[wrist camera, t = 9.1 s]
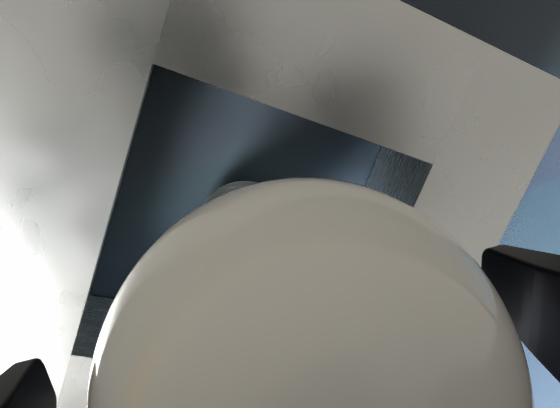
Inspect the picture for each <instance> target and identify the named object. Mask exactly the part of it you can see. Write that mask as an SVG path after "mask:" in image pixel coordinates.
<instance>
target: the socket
mask: <svg viewBox="0 0 560 408" xmlns="http://www.w3.org/2000/svg"><path fill="white" fill-rule="evenodd" d="M154 64H155V65H158V66H161V67H164V68H166V69H169V70H172V71H175V72H178V73H180V74H183V75H186V76H189V77H192V78H194V79H197V80H200V81H203V82H205V83H208V84H211V85H214V86H217V87H219V88H222V89H225V90H228V91H230V92H233V93H236V94H239V95H242V96H244V97H247V98H250V99H253V100H256V101H258V102H261V103H264V104H267V105H269V106H272V107H275V108H278V109H281V110H283V111H286V112H289V113H292V114H295V115H297V116H300V117H303V118H306V119H308V120H311V121H314V122H317V123H320V124H322V125H325V126H328V127H331V128H333V129H336V130H339V131H342V132H345V133H347V134H350V135H353V136H356V137H359V138H361V139H364V140H367V141H370V142H372V143H375V144H378V145H381V146H382V147H381V149H380V152H379V154H378V157H377V159H376V161H375V164H374V166H373V168H372V171H371V173H370V176H369V178H368V180H367V183H366V185H365V186H366V187H369V188H372V189H375V190H378V191H380V192H383V193H385V194H388V195H390V196H392V197H395V198H397V199H399V200H401V201H403V202H405V203H407V204H408V205H410V206H412V207H414V208H415V209H417V210H419V211H420V212H422V213H423V214H425V215H426V216H428V217H429V218H431V219H432V220H433V221H435V222H436V223H437V224H439V225H440V226H441V227H442V228H444V229H445V230H446V231H447V232H448V233H450V234H451V235H452V236H453V237H454V238H455V239H456V240H457V241H458V242H459V243H460V244H461V245H462V246H463V247H464V248H465V249H466V250H467V251H468V252H469V254H470V255H471V256H472V257H473V258H474V259H475V261H476V262H477V263H478V264H479V266H480V267H481V260H482V253H483V251H484V250H485V249H486V248H490V247H494V246H498V244H499V242H500V240H501V238H502V236H503V234H504V232H505V230H506V228H507V226H508V224H509V222H510V220H511V218H512V216H513V214H514V212H515V210H516V208H517V206H518V205H519V203H520V201H521V199H522V197H523V195H524V193H525V191H526V189H527V187H528V185H529V183H530V181H531V179H532V177H533V175H534V173H535V171H536V169H537V167H538V165H539V163H540V162H541V160H542V158H543V156H544V154H545V152H546V150H547V148H548V146H549V144H550V142H551V140H552V138H553V136H554V134H555V132H556V130H557V128H558V126H559V124H560V79H559V78H557V77H555V76H553V75H551V74H549V73H547V72H545V71H542V70H540V69H538V68H536V67H534V66H532V65H530V64H528V63H526V62H524V61H522V60H520V59H518V58H516V57H514V56H512V55H510V54H508V53H506V52H504V51H502V50H500V49H498V48H496V47H494V46H492V45H490V44H488V43H485V42H483V41H481V40H479V39H477V38H475V37H473V36H471V35H469V34H467V33H465V32H463V31H461V30H459V29H457V28H455V27H453V26H451V25H449V24H447V23H445V22H443V21H441V20H439V19H437V18H435V17H433V16H431V15H429V14H426V13H424V12H422V11H420V10H418V9H416V8H414V7H412V6H410V5H408V4H406V3H404V2H402V1H400V0H0V375H1V374H2V373H3V372H4V371H6V370H7V369H8V368H9V367H10V366H12V365H13V364H14V363H17V362H21V361H25V360H29V359H33V358H39V359H41V360H42V362H43V363H44V365H45V368H46V370H47V373H48V375H49V378H50V380H51V383H52V386H53V388H54V391H55V394H56V400H57V407H56V408H87V391H88V381H89V374H90V368H91V363H92V358H93V354H94V350H95V347H96V343H97V340H98V337H99V334H100V331H101V328H102V325H103V323H104V320H105V318H106V315H107V313H108V311H109V308H110V306H111V304H112V302H113V300H114V299H110V298H105V297H99V296H94V295H90V292H91V288H92V285H93V281H94V278H95V274H96V271H97V267H98V263H99V260H100V256H101V253H102V249H103V246H104V242H105V238H106V235H107V231H108V228H109V224H110V221H111V217H112V214H113V210H114V206H115V203H116V199H117V196H118V192H119V189H120V185H121V181H122V178H123V174H124V171H125V167H126V164H127V160H128V156H129V153H130V149H131V146H132V142H133V139H134V135H135V132H136V128H137V124H138V121H139V117H140V114H141V110H142V107H143V103H144V99H145V96H146V92H147V89H148V85H149V82H150V78H151V74H152V71H153V67H154Z"/></svg>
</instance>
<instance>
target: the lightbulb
mask: <svg viewBox="0 0 560 408" xmlns="http://www.w3.org/2000/svg"><path fill="white" fill-rule="evenodd" d="M87 408H534V398H533V390H532V383H531V378H530V373H529V368H528V364H527V360H526V357H525V353H524V350H523V347H522V344H521V341H520V338H519V335H518V333H517V330H516V328H515V325H514V323H513V321H512V318H511V316H510V314H509V312H508V310H507V308H506V306H505V304H504V302H503V300H502V299H501V297H500V295H499V293H498V292H497V290H496V289H495V287H494V285H493V284H492V282H491V281H490V279H489V278H488V276H487V275H486V274H485V272H484V271H483V269H482V268H481V267H480V266H479V264H478V263H477V262H476V261H475V259H474V258H473V257H472V256H471V255H470V254H469V252H468V251H467V250H466V249H465V248H464V247H463V246H462V245H461V244H460V243H459V242H458V241H457V240H456V239H455V238H454V237H453V236H452V235H451V234H450V233H448V232H447V231H446V230H445V229H444V228H442V227H441V226H440V225H439V224H437V223H436V222H435V221H433V220H432V219H431V218H429V217H428V216H426V215H425V214H423V213H422V212H420V211H419V210H417V209H415V208H414V207H412V206H410V205H408V204H407V203H405V202H403V201H401V200H399V199H397V198H395V197H392V196H390V195H388V194H385V193H383V192H380V191H378V190H375V189H372V188H369V187H366V186H362V185H359V184H355V183H351V182H346V181H341V180H334V179H326V178H311V177H299V178H284V179H276V180H269V181H264V182H259V183H256V182H252V181H236V182H232V183H228V184H226V185H224V186H222V187H220V188H219V189H217V190H216V191H214V192H213V193H212V194H211V195H210V196H209V197H208V199H207V200H206V201H205V203H204V204H203V205H201V206H200V207H198V208H196V209H195V210H193V211H192V212H190V213H189V214H187V215H186V216H184V217H183V218H182V219H180V220H179V221H178V222H176V223H175V224H174V225H173V226H171V227H170V228H169V229H168V230H167V231H166V232H165V233H163V234H162V235H161V236H160V237H159V238H158V239H157V240H156V241H155V242H154V243H153V244H152V245H151V246H150V248H149V249H148V250H147V251H146V252H145V253H144V254H143V256H142V257H141V258H140V259H139V261H138V262H137V263H136V265H135V266H134V267H133V269H132V270H131V272H130V273H129V274H128V276H127V277H126V279H125V281H124V282H123V284H122V285H121V287H120V289H119V291H118V293H117V294H116V296H115V298H114V300H113V302H112V304H111V306H110V308H109V311H108V313H107V315H106V318H105V320H104V323H103V325H102V328H101V331H100V334H99V337H98V340H97V343H96V347H95V350H94V354H93V358H92V363H91V368H90V374H89V381H88V391H87Z"/></svg>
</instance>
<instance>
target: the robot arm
mask: <svg viewBox="0 0 560 408" xmlns="http://www.w3.org/2000/svg"><path fill="white" fill-rule="evenodd" d="M481 268H482V269H483V271H484V272H485V274H486V275H487V276H488V278H489V279H490V281H491V282H492V284H493V285H494V287H495V289H496V290H497V292H498V293H499V295H500V297H501V299H502V300H503V302H504V304H505V306H506V308H507V310H508V312H509V314H510V316H511V318H512V321H513V323H514V325H515V328H516V330H517V333H518V335H519V338H520V340H521V341H522V342H523V343H524V345H525V346H526V347H527V348H528V349H529V350H530V352H531V353H532V354H533V355H534V356H535V357H536V358H537V359H538V360H539V361H540V362H541V363H542V364H543V366H544V367H545V368H546V369H547V370H548V371H549V372H550V373H551V374H552V375H553V376H554V377H555V378H556V379H557V380H558V381H559V382H560V255H556V254H551V253H546V252H540V251H535V250H529V249H524V248H518V247H513V246H508V245H498V246H494V247H490V248H486V249H485V250H484V251H483V253H482V260H481ZM56 407H57V400H56V394H55V391H54V388H53V386H52V383H51V380H50V378H49V375H48V373H47V370H46V368H45V365H44V363H43V362H42V360H41V359H39V358H33V359H29V360H25V361H21V362H17V363H14V364H13V365H12V366H10V367H9V368H8V369H7V370H6V371H4V372H3V373H2V374H1V375H0V408H56Z"/></svg>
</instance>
